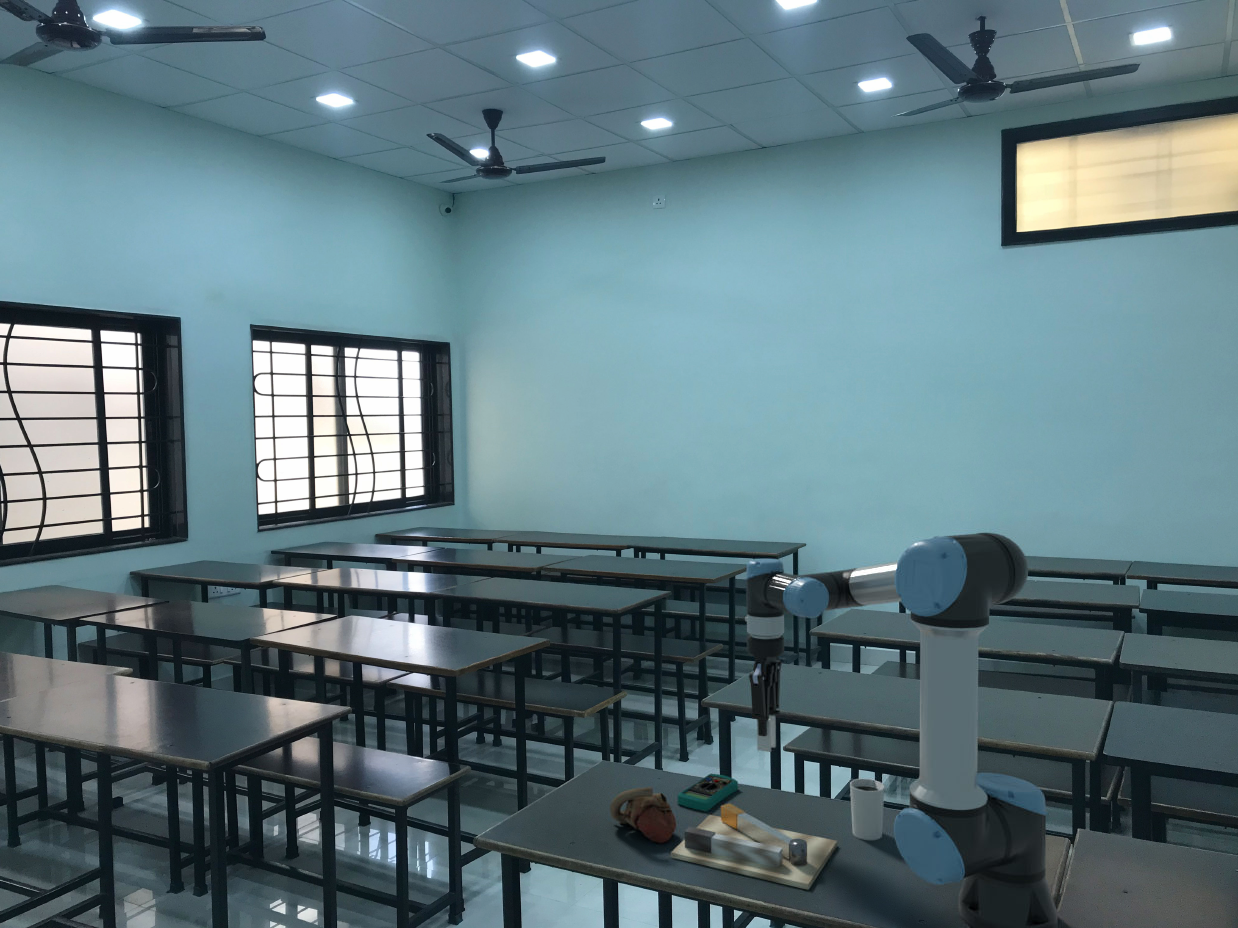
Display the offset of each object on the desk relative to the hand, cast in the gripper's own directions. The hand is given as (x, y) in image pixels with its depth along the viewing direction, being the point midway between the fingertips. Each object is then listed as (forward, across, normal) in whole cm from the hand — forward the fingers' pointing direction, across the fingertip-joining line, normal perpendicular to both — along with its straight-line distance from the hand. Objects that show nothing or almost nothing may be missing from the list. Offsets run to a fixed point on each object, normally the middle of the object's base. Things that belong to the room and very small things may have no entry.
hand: (766, 747), depth 184 cm
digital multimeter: (+17, -9, -17) cm, 26 cm away
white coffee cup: (+17, -6, +19) cm, 26 cm away
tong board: (+16, +12, +2) cm, 20 cm away
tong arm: (+15, +9, +2) cm, 18 cm away
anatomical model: (+17, +13, -22) cm, 30 cm away
